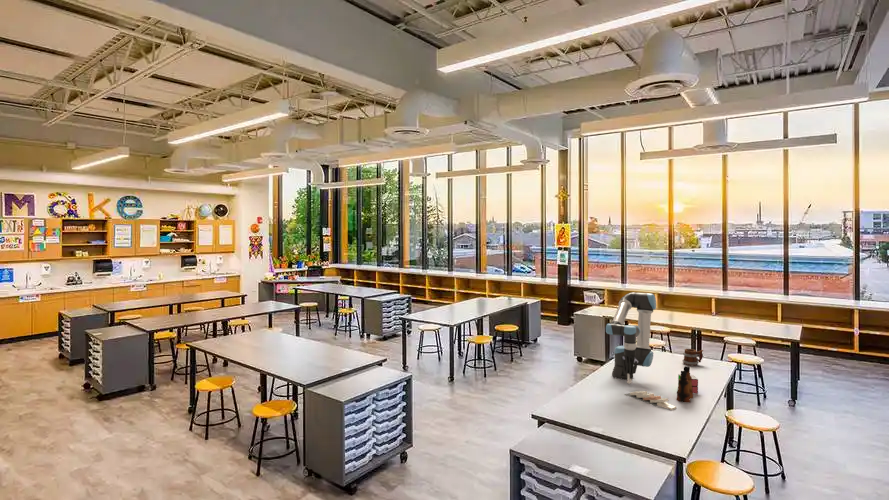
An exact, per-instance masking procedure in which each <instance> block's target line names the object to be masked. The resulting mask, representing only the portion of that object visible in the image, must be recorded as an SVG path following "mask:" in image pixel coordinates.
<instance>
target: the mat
mask: <svg viewBox="0 0 889 500" xmlns="http://www.w3.org/2000/svg"><path fill="white" fill-rule="evenodd" d="M630 393H631V392H629V393H625V394H624V396H626V397H629V398H632V399H635V400H637V401H640V402H642V403H645V404H648V405H651V406H654V407H657V406H658V405H657V403H650V400H643V398H637V396H636V395H630ZM658 407H659V406H658Z"/></svg>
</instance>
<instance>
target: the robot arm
mask: <svg viewBox="0 0 889 500" xmlns="http://www.w3.org/2000/svg"><path fill="white" fill-rule="evenodd" d="M632 308H635V309H636V312H638V317H637V325H635V324H634V325H633V324H632V325H628V324H627V325H624V322H625V320H626V318H627V315H628V313H629V311H630V310H632ZM656 309H657V300H656V296H655V294H654V293H648V292H633V291H632V292H628V293H626V294H624V295H623V296H622V297H621V298H620V299H619V302H618V308H617V309H616V311H615V314H614V317H613V319H612V321H611V323H606V325H605V332H606V334H607V335H612V336H620V337H623V345H617V346H616V347H615V348H614V367H613V368H612V372H611V376H612V378H615V379H618V380H625V381H627V382H626V383H627V384H632V383H633V381H632V380H633V379H634V374H635V375H636V372H637V368H638V366H639V367H645V368H646V367H651V365H652V363H653V359H654V351H652V348H651V347H650V336H651V320H652V319H651V318H652V314H653V313H654V311H655V310H656Z"/></svg>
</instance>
